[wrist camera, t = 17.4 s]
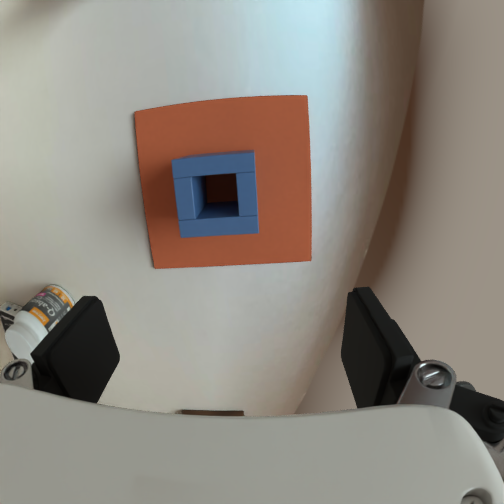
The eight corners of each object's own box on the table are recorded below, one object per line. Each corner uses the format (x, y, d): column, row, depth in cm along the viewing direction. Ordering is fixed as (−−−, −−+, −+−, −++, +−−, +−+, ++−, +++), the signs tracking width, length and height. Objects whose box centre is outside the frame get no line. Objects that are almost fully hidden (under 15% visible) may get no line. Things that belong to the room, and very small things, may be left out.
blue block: (254, 149, 26) (254, 152, 20) (258, 214, 28) (259, 233, 22) (188, 155, 26) (171, 159, 20) (194, 218, 28) (180, 238, 23)
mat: (306, 95, 24) (307, 95, 24) (310, 259, 30) (311, 261, 30) (135, 112, 25) (134, 111, 24) (155, 267, 31) (154, 268, 30)
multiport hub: (21, 354, 37) (15, 362, 35) (5, 300, 33) (-3, 308, 31) (40, 362, 37) (33, 371, 35) (24, 307, 33) (16, 315, 31)
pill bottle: (73, 286, 32) (29, 331, 22) (81, 325, 34) (45, 373, 24) (40, 280, 31) (-5, 320, 22) (49, 317, 34) (11, 360, 24)
